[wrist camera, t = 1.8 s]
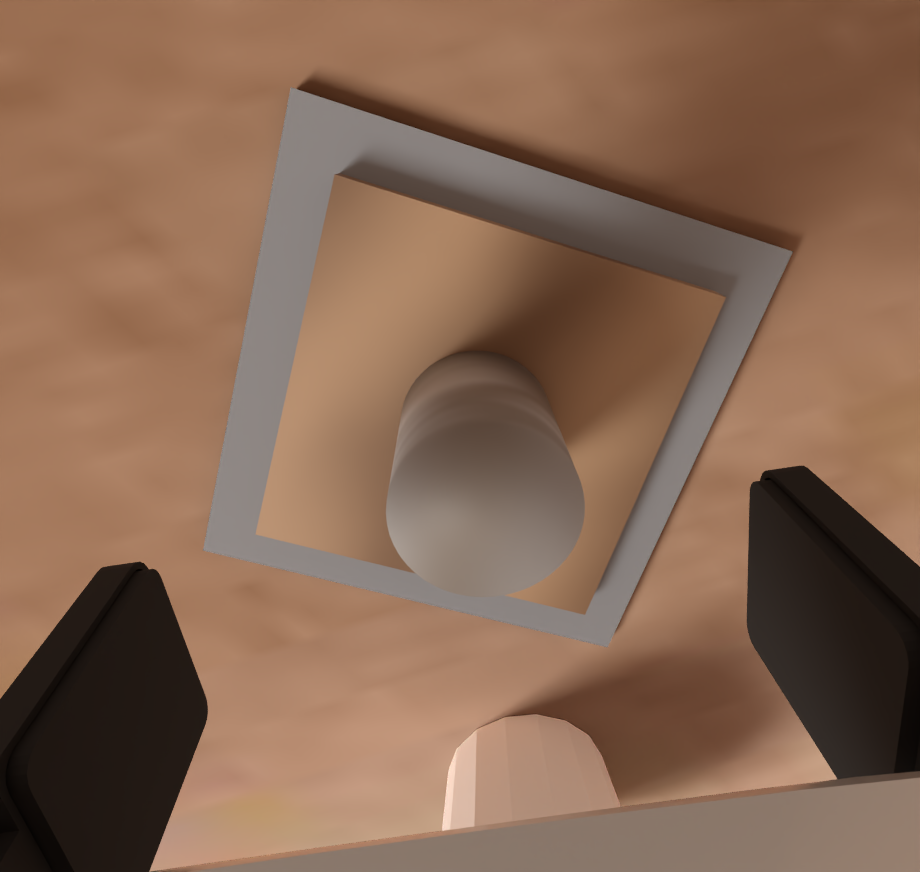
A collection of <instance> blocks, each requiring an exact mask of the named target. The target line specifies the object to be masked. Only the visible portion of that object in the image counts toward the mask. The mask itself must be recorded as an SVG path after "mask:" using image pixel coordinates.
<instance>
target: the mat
mask: <svg viewBox="0 0 920 872" xmlns="http://www.w3.org/2000/svg"><path fill="white" fill-rule="evenodd" d="M338 173H341V174H344V175H347V176H350V177H353V178H356V179H360V180H363V181H366V182H369V183H372V184H375V185H379V186H382V187H385V188H388V189H391V190H395V191H398V192H401V193H404V194H407V195H410V196H414V197H417V198H420V199H423V200H426V201H430V202H433V203H436V204H439V205H442V206H445V207H449V208H452V209H455V210H458V211H461V212H465V213H468V214H471V215H474V216H477V217H480V218H484V219H487V220H490V221H493V222H496V223H500V224H503V225H506V226H509V227H512V228H515V229H519V230H522V231H525V232H528V233H531V234H535V235H538V236H541V237H544V238H547V239H550V240H554V241H557V242H560V243H563V244H566V245H570V246H573V247H576V248H579V249H582V250H585V251H589V252H592V253H595V254H598V255H601V256H605V257H608V258H611V259H614V260H617V261H620V262H624V263H627V264H630V265H633V266H636V267H640V268H643V269H646V270H649V271H652V272H655V273H659V274H662V275H665V276H668V277H671V278H674V279H678V280H681V281H684V282H687V283H690V284H694V285H697V286H700V287H703V288H706V289H709V290H713V291H715V292H717V293H719V294H721V295H723V296H725V297H726V299H725V301H724V303H723V305H722V308H721V310H720V312H719V314H718V317H717V319H716V321H715V323H714V326H713V328H712V330H711V332H710V335H709V337H708V339H707V341H706V344H705V346H704V348H703V350H702V353H701V355H700V357H699V359H698V362H697V364H696V366H695V368H694V371H693V373H692V375H691V377H690V380H689V382H688V384H687V386H686V389H685V391H684V393H683V395H682V398H681V400H680V402H679V404H678V407H677V409H676V411H675V413H674V416H673V418H672V420H671V422H670V425H669V427H668V429H667V431H666V434H665V436H664V438H663V440H662V443H661V445H660V447H659V449H658V452H657V454H656V456H655V458H654V461H653V463H652V465H651V467H650V470H649V472H648V474H647V476H646V479H645V481H644V483H643V486H642V488H641V490H640V492H639V495H638V497H637V499H636V501H635V504H634V506H633V508H632V510H631V513H630V515H629V517H628V519H627V522H626V524H625V526H624V528H623V531H622V533H621V535H620V537H619V540H618V542H617V544H616V546H615V549H614V551H613V553H612V555H611V558H610V560H609V562H608V564H607V567H606V569H605V571H604V573H603V576H602V578H601V580H600V582H599V585H598V587H597V589H596V591H595V594H594V596H593V598H592V600H591V603H590V605H589V607H588V609H587V612H586V614H585V615H583V614H579V613H575V612H571V611H567V610H563V609H558V608H554V607H550V606H546V605H542V604H538V603H534V602H530V601H526V600H522V599H518V598H513V597H509V596H505V595H502V596H495V597H471V596H464V595H459V594H455V593H452V592H448V591H445V590H443V589H441V588H438V587H436V586H434V585H432V584H430V583H429V582H427V581H425V580H424V579H422V578H421V577H420V576H418V575H417V574H415V573H411V572H407V571H403V570H399V569H395V568H391V567H387V566H383V565H379V564H374V563H370V562H366V561H362V560H358V559H354V558H350V557H346V556H342V555H338V554H334V553H329V552H325V551H321V550H317V549H313V548H309V547H305V546H301V545H297V544H293V543H289V542H284V541H280V540H276V539H272V538H268V537H264V536H260V535H256V530H257V525H258V520H259V516H260V511H261V507H262V502H263V498H264V493H265V489H266V484H267V479H268V475H269V470H270V466H271V461H272V457H273V452H274V448H275V443H276V438H277V434H278V429H279V425H280V420H281V416H282V411H283V407H284V402H285V398H286V393H287V388H288V384H289V379H290V375H291V370H292V366H293V361H294V357H295V352H296V347H297V343H298V338H299V334H300V329H301V325H302V320H303V316H304V311H305V306H306V302H307V297H308V293H309V288H310V284H311V279H312V275H313V270H314V265H315V261H316V256H317V252H318V247H319V243H320V238H321V234H322V229H323V224H324V220H325V215H326V211H327V206H328V202H329V197H330V193H331V188H332V184H333V179H334V174H338ZM792 253H793V251H790V250H787V249H783V248H780V247H777V246H774V245H771V244H768V243H765V242H762V241H759V240H756V239H753V238H750V237H747V236H744V235H741V234H738V233H735V232H732V231H728V230H725V229H722V228H719V227H716V226H713V225H710V224H707V223H704V222H701V221H698V220H695V219H692V218H689V217H686V216H683V215H680V214H676V213H673V212H670V211H667V210H664V209H661V208H658V207H655V206H652V205H649V204H646V203H643V202H640V201H637V200H634V199H631V198H628V197H625V196H621V195H618V194H615V193H612V192H609V191H606V190H603V189H600V188H597V187H594V186H591V185H588V184H585V183H582V182H579V181H576V180H573V179H570V178H566V177H563V176H560V175H557V174H554V173H551V172H548V171H545V170H542V169H539V168H536V167H533V166H530V165H527V164H524V163H521V162H518V161H515V160H511V159H508V158H505V157H502V156H499V155H496V154H493V153H490V152H487V151H484V150H481V149H478V148H475V147H472V146H469V145H466V144H463V143H459V142H456V141H453V140H450V139H447V138H444V137H441V136H438V135H435V134H432V133H429V132H426V131H423V130H420V129H417V128H414V127H411V126H408V125H404V124H401V123H398V122H395V121H392V120H389V119H386V118H383V117H380V116H377V115H374V114H371V113H368V112H365V111H362V110H359V109H356V108H353V107H349V106H346V105H343V104H340V103H337V102H334V101H331V100H328V99H325V98H322V97H319V96H316V95H313V94H310V93H307V92H304V91H301V90H297V89H294V88H291V89H290V94H289V100H288V105H287V110H286V116H285V121H284V126H283V131H282V137H281V142H280V147H279V153H278V158H277V163H276V168H275V174H274V179H273V184H272V189H271V195H270V200H269V205H268V211H267V216H266V221H265V226H264V232H263V237H262V242H261V248H260V253H259V258H258V263H257V269H256V274H255V279H254V285H253V290H252V295H251V300H250V306H249V311H248V316H247V322H246V327H245V332H244V337H243V343H242V348H241V353H240V358H239V364H238V369H237V374H236V380H235V385H234V390H233V395H232V401H231V406H230V411H229V417H228V422H227V427H226V432H225V438H224V443H223V448H222V454H221V459H220V464H219V469H218V475H217V480H216V485H215V491H214V496H213V501H212V506H211V512H210V517H209V522H208V527H207V533H206V538H205V543H204V549H203V551H207V552H212V553H216V554H220V555H224V556H228V557H232V558H237V559H241V560H245V561H249V562H253V563H258V564H262V565H266V566H270V567H274V568H278V569H283V570H287V571H291V572H295V573H299V574H304V575H308V576H312V577H316V578H320V579H324V580H329V581H333V582H337V583H341V584H345V585H349V586H354V587H358V588H362V589H366V590H370V591H375V592H379V593H383V594H387V595H391V596H395V597H400V598H404V599H408V600H412V601H416V602H420V603H425V604H429V605H433V606H437V607H441V608H446V609H450V610H454V611H458V612H462V613H466V614H471V615H475V616H479V617H483V618H487V619H492V620H496V621H500V622H504V623H508V624H512V625H517V626H521V627H525V628H529V629H533V630H537V631H542V632H546V633H550V634H554V635H558V636H563V637H567V638H571V639H575V640H579V641H583V642H588V643H592V644H596V645H600V646H604V647H608V645H609V643H610V641H611V639H612V637H613V635H614V632H615V630H616V628H617V626H618V624H619V622H620V620H621V617H622V615H623V613H624V611H625V609H626V607H627V605H628V602H629V600H630V598H631V596H632V594H633V592H634V590H635V588H636V585H637V583H638V581H639V579H640V577H641V575H642V573H643V570H644V568H645V566H646V564H647V562H648V560H649V558H650V556H651V553H652V551H653V549H654V547H655V545H656V543H657V541H658V538H659V536H660V534H661V532H662V530H663V528H664V526H665V524H666V521H667V519H668V517H669V515H670V513H671V511H672V509H673V506H674V504H675V502H676V500H677V498H678V496H679V494H680V492H681V489H682V487H683V485H684V483H685V481H686V479H687V477H688V474H689V472H690V470H691V468H692V466H693V464H694V462H695V460H696V457H697V455H698V453H699V451H700V449H701V447H702V445H703V442H704V440H705V438H706V436H707V434H708V432H709V430H710V428H711V425H712V423H713V421H714V419H715V417H716V415H717V413H718V410H719V408H720V406H721V404H722V402H723V400H724V398H725V396H726V393H727V391H728V389H729V387H730V385H731V383H732V381H733V378H734V376H735V374H736V372H737V370H738V368H739V366H740V363H741V361H742V359H743V357H744V355H745V353H746V351H747V349H748V346H749V344H750V342H751V340H752V338H753V336H754V334H755V331H756V329H757V327H758V325H759V323H760V321H761V319H762V317H763V314H764V312H765V310H766V308H767V306H768V304H769V302H770V299H771V297H772V295H773V293H774V291H775V289H776V287H777V285H778V282H779V280H780V278H781V276H782V274H783V272H784V270H785V267H786V265H787V263H788V261H789V259H790V257H791V255H792Z"/></svg>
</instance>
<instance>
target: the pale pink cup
mask: <svg viewBox="0 0 920 872" xmlns="http://www.w3.org/2000/svg"><path fill="white" fill-rule="evenodd" d="M616 807H621V806H620V803H619V800H618V798H617V795H616V792H615V790H614V787H613V784H612V782H611V779H610V776H609V774H608V771H607V768H606V765H605V763H604V760H603V757H602V755H601V754H600V752H599V750H598V749H597V747H596V746H595V744H594V742H593V741H592V739H591V738H590V736H589V735H588V734H586V733H585V732H583V731H582V730H580V729H578V728H577V727H575V726H574V725H572V724H571V723H569V722H567V721H566V720H561V719H556V718H552V717H547V716H543V715H538V714H532V715H522V716H511V717H504V718H501V719H499V720H497V721H495V722H492V723H490V724H488V725H485V726H483V727H481V728H478V729H476V730H475V731H474V732H473V733H472V734H471V735H470V736H469V737H468V738H467V739H466V740H465V741H464V742H463V743H462V744H461V745H460V746H459V747H457V749H456V752H455V755H454V757H453V760H452V762H451V765H450V768H449V771H448V780H447V789H446V799H445V808H444V817H443V827H442V831H444V830H451V829H459V828H466V827H474V826H481V825H488V824H496V823H503V822H511V821H518V820H526V819H533V818H540V817H548V816H555V815H563V814H570V813H578V812H585V811H593V810H601V809H609V808H616Z"/></svg>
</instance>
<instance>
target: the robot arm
mask: <svg viewBox="0 0 920 872" xmlns="http://www.w3.org/2000/svg"><path fill="white" fill-rule="evenodd" d="M747 628H748V633H749V636H750V639H751V642H752V644H753V646H754V648H755V649H756V651H757V652H758V654H759V656H760V657H761V659H762V660H763V662H764V663H765V665H766V667H767V668H768V670H769V671H770V673H771V675H772V676H773V678H774V679H775V681H776V682H777V684H778V686H779V687H780V689H781V690H782V692H783V693H784V695H785V697H786V698H787V700H788V701H789V703H790V705H791V706H792V708H793V709H794V711H795V712H796V714H797V716H798V717H799V719H800V720H801V722H802V723H803V725H804V727H805V728H806V730H807V731H808V733H809V734H810V736H811V738H812V739H813V741H814V742H815V744H816V746H817V747H818V749H819V750H820V752H821V753H822V755H823V757H824V758H825V760H826V761H827V763H828V764H829V766H830V768H831V769H832V771H833V772H834V774H835V776H836V777H837V780H829V781H822V782H814V783H806V784H797V785H788V786H780V787H771V788H763V789H755V790H747V791H739V792H732V793H724V794H716V795H709V796H701V797H693V798H686V799H678V800H670V801H662V802H655V803H647V804H639V805H632V806H624V807H616V808H609V809H601V810H593V811H585V812H578V813H570V814H563V815H555V816H548V817H540V818H533V819H526V820H518V821H511V822H503V823H496V824H488V825H481V826H474V827H466V828H459V829H451V830H444V831H437V832H429V833H422V834H415V835H408V836H400V837H393V838H386V839H378V840H371V841H364V842H356V843H349V844H342V845H335V846H327V847H320V848H313V849H306V850H299V851H292V852H285V853H278V854H271V855H264V856H257V857H250V858H243V859H236V860H229V861H222V862H215V863H208V864H201V865H194V866H187V867H180V868H173V869H166V870H158V871H151V872H920V567H919V566H918V565H917V564H916V563H915V562H914V561H913V560H911V559H910V558H909V557H908V556H907V555H906V554H905V553H904V552H902V551H901V550H900V549H899V548H898V547H897V546H896V545H894V544H893V543H892V542H891V541H890V540H889V539H888V538H886V537H885V536H884V535H883V534H882V533H881V532H880V531H879V530H877V529H876V528H875V527H874V526H873V525H872V524H871V523H869V522H868V521H867V520H866V519H865V518H864V517H863V516H861V515H860V514H859V513H858V512H857V511H856V510H855V509H854V508H852V507H851V506H850V505H849V504H848V503H847V502H846V501H844V500H843V499H842V498H841V497H840V496H839V495H838V494H837V493H835V492H834V491H833V490H832V489H831V488H830V487H829V486H827V485H826V484H825V483H824V482H823V481H822V480H821V479H819V478H818V477H817V476H816V475H815V474H814V473H813V472H812V471H810V470H809V469H808V468H807V467H805V466H795V467H788V468H782V469H775V470H768V471H765V472H764V473H762V476H761V479H760V481H756V482H753V483H752V484H751V487H750V508H749V550H748V593H747ZM207 714H208V706H207V700H206V696H205V694H204V691H203V688H202V686H201V683H200V680H199V678H198V675H197V672H196V670H195V667H194V664H193V662H192V659H191V656H190V654H189V651H188V648H187V646H186V643H185V640H184V638H183V635H182V632H181V630H180V627H179V624H178V622H177V619H176V616H175V614H174V611H173V608H172V606H171V603H170V600H169V598H168V595H167V592H166V590H165V587H164V584H163V582H162V579H161V577H160V575H159V573H158V572H157V571H156V570H154V569H150V570H149V569H148V567H147V566H146V565H145V564H144V563H141V562H135V563H128V564H121V565H114V566H107V567H103V568H101V569H100V570H99V571H98V572H97V573H96V575H95V576H94V577H93V578H92V580H91V581H90V582H89V584H88V585H87V586H86V588H85V589H84V590H83V592H82V593H81V594H80V595H79V597H78V598H77V599H76V601H75V602H74V603H73V605H72V606H71V607H70V609H69V610H68V611H67V612H66V614H65V615H64V616H63V618H62V619H61V620H60V622H59V623H58V624H57V626H56V627H55V628H54V629H53V631H52V632H51V633H50V635H49V636H48V637H47V639H46V640H45V641H44V643H43V644H42V645H41V646H40V648H39V649H38V650H37V652H36V653H35V654H34V656H33V657H32V658H31V660H30V661H29V662H28V664H27V665H26V666H25V667H24V669H23V670H22V671H21V673H20V674H19V675H18V677H17V678H16V679H15V681H14V682H13V683H12V684H11V686H10V687H9V688H8V690H7V691H6V692H5V694H4V695H3V696H2V698H1V699H0V872H149V870H150V868H151V865H152V863H153V860H154V857H155V855H156V852H157V850H158V847H159V844H160V842H161V839H162V836H163V834H164V831H165V829H166V826H167V823H168V821H169V818H170V816H171V813H172V810H173V808H174V805H175V802H176V800H177V797H178V795H179V792H180V789H181V787H182V784H183V782H184V779H185V776H186V774H187V771H188V769H189V766H190V763H191V761H192V758H193V755H194V753H195V750H196V748H197V745H198V742H199V740H200V737H201V735H202V732H203V729H204V727H205V724H206V720H207Z"/></svg>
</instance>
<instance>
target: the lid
mask: <svg viewBox="0 0 920 872" xmlns="http://www.w3.org/2000/svg"><path fill="white" fill-rule="evenodd" d="M725 299H726V297H725V296H723V295H721V294H719V293H717V292H715V291H713V290H709V289H706V288H703V287H700V286H697V285H694V284H690V283H687V282H684V281H681V280H678V279H674V278H671V277H668V276H665V275H662V274H659V273H655V272H652V271H649V270H646V269H643V268H640V267H636V266H633V265H630V264H627V263H624V262H620V261H617V260H614V259H611V258H608V257H605V256H601V255H598V254H595V253H592V252H589V251H585V250H582V249H579V248H576V247H573V246H570V245H566V244H563V243H560V242H557V241H554V240H550V239H547V238H544V237H541V236H538V235H535V234H531V233H528V232H525V231H522V230H519V229H515V228H512V227H509V226H506V225H503V224H500V223H496V222H493V221H490V220H487V219H484V218H480V217H477V216H474V215H471V214H468V213H465V212H461V211H458V210H455V209H452V208H449V207H445V206H442V205H439V204H436V203H433V202H430V201H426V200H423V199H420V198H417V197H414V196H410V195H407V194H404V193H401V192H398V191H395V190H391V189H388V188H385V187H382V186H379V185H375V184H372V183H369V182H366V181H363V180H360V179H356V178H353V177H350V176H347V175H344V174H341V173H338V174H334V179H333V184H332V188H331V193H330V197H329V202H328V206H327V211H326V215H325V220H324V224H323V229H322V234H321V238H320V243H319V247H318V252H317V256H316V261H315V265H314V270H313V275H312V279H311V284H310V288H309V293H308V297H307V302H306V306H305V311H304V316H303V320H302V325H301V329H300V334H299V338H298V343H297V347H296V352H295V357H294V361H293V366H292V370H291V375H290V379H289V384H288V388H287V393H286V398H285V402H284V407H283V411H282V416H281V420H280V425H279V429H278V434H277V438H276V443H275V448H274V452H273V457H272V461H271V466H270V470H269V475H268V479H267V484H266V489H265V493H264V498H263V502H262V507H261V511H260V516H259V520H258V525H257V530H256V535H260V536H264V537H268V538H272V539H276V540H280V541H284V542H289V543H293V544H297V545H301V546H305V547H309V548H313V549H317V550H321V551H325V552H329V553H334V554H338V555H342V556H346V557H350V558H354V559H358V560H362V561H366V562H370V563H374V564H379V565H383V566H387V567H391V568H395V569H399V570H403V571H407V572H411V573H415V574H417V575H418V576H420V577H421V578H422V579H424V580H425V581H427V582H429V583H430V584H432V585H434V586H436V587H438V588H441V589H443V590H445V591H448V592H452V593H455V594H459V595H464V596H471V597H495V596H502V595H505V596H509V597H513V598H518V599H522V600H526V601H530V602H534V603H538V604H542V605H546V606H550V607H554V608H558V609H563V610H567V611H571V612H575V613H579V614H583V615H585V614H586V612H587V609H588V607H589V605H590V603H591V600H592V598H593V596H594V594H595V591H596V589H597V587H598V585H599V582H600V580H601V578H602V576H603V573H604V571H605V569H606V567H607V564H608V562H609V560H610V558H611V555H612V553H613V551H614V549H615V546H616V544H617V542H618V540H619V537H620V535H621V533H622V531H623V528H624V526H625V524H626V522H627V519H628V517H629V515H630V513H631V510H632V508H633V506H634V504H635V501H636V499H637V497H638V495H639V492H640V490H641V488H642V486H643V483H644V481H645V479H646V476H647V474H648V472H649V470H650V467H651V465H652V463H653V461H654V458H655V456H656V454H657V452H658V449H659V447H660V445H661V443H662V440H663V438H664V436H665V434H666V431H667V429H668V427H669V425H670V422H671V420H672V418H673V416H674V413H675V411H676V409H677V407H678V404H679V402H680V400H681V398H682V395H683V393H684V391H685V389H686V386H687V384H688V382H689V380H690V377H691V375H692V373H693V371H694V368H695V366H696V364H697V362H698V359H699V357H700V355H701V353H702V350H703V348H704V346H705V344H706V341H707V339H708V337H709V335H710V332H711V330H712V328H713V326H714V323H715V321H716V319H717V317H718V314H719V312H720V310H721V308H722V305H723V303H724V301H725Z"/></svg>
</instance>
